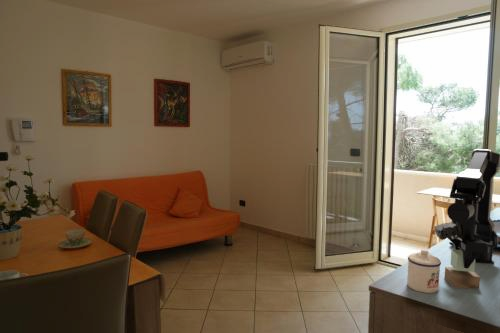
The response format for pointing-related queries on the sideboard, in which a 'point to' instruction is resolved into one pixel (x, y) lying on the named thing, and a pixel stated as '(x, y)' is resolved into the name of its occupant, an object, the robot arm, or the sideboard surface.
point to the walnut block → (462, 278)
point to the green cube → (460, 261)
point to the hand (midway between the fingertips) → (462, 264)
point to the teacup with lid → (423, 272)
